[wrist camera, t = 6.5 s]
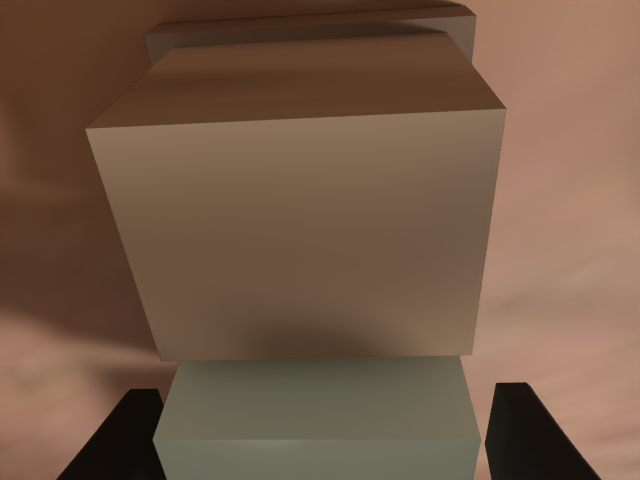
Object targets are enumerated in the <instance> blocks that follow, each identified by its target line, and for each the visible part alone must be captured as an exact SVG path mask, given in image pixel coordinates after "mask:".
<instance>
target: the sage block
mask: <svg viewBox="0 0 640 480" xmlns="http://www.w3.org/2000/svg"><path fill="white" fill-rule="evenodd" d="M153 442H154V445H155V448H156V451H157V453H158V456H159V459H160V462H161V465H162V467H163V470H164V473H165V476H166V478H167V480H473V477H474V472H475V467H476V462H477V457H478V452H479V448H480V443H481V437H480V433H479V429H478V425H477V422H476V418H475V414H474V410H473V406H472V402H471V399H470V395H469V391H468V387H467V383H466V379H465V376H464V372H463V368H462V364H461V360H460V356H459V355H455V356H405V357H355V358H306V359H256V360H206V361H179V364H178V367H177V370H176V373H175V376H174V379H173V382H172V385H171V388H170V391H169V394H168V396H167V399H166V402H165V405H164V408H163V411H162V414H161V417H160V420H159V423H158V426H157V429H156V432H155V434H154V437H153Z"/></svg>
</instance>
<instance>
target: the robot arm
mask: <svg viewBox="0 0 640 480" xmlns="http://www.w3.org/2000/svg"><path fill="white" fill-rule="evenodd" d="M163 408H164V406H163V403H162V400H161V397H160V394H159V391H158V389H130V390H129V391H128V392H127V393H126V394H125V395H124V397H123V398H122V399H121V400H120V402H119V403H118V404H117V405H116V407H115V408H114V409H113V411H112V412H111V413H110V414H109V416H108V417H107V418H106V419H105V421H104V422H103V423H102V424H101V426H100V427H99V428H98V429H97V431H96V432H95V433H94V434H93V436H92V437H91V438H90V439H89V441H88V442H87V443H86V444H85V446H84V447H83V448H82V449H81V451H80V452H79V453H78V454H77V455H76V456H75V458H74V459H73V460H72V461H71V462H70V464H69V465H68V466H67V467H66V468H65V470H64V471H63V472H62V473H61V474H60V476H59V477H58V478H57V479H56V480H167V478H166V476H165V473H164V470H163V467H162V465H161V462H160V459H159V456H158V453H157V451H156V448H155V445H154V442H153V437H154V434H155V432H156V429H157V426H158V423H159V420H160V417H161V414H162V411H163ZM485 447H486V453H487V458H488V463H489V469H490V474H491V479H492V480H601V479H600V477H599V476H598V475H597V474H596V472H595V471H594V470H593V469H592V468H591V466H590V465H589V464H588V463H587V461H586V460H585V459H584V458H583V456H582V455H581V454H580V453H579V451H578V450H577V449H576V448H575V446H574V445H573V444H572V442H571V441H570V440H569V438H568V437H567V436H566V434H565V433H564V432H563V431H562V429H561V428H560V427H559V425H558V424H557V423H556V421H555V420H554V418H553V417H552V416H551V414H550V413H549V412H548V410H547V409H546V408H545V406H544V405H543V403H542V402H541V401H540V399H539V398H538V396H537V395H536V393H535V392H534V391H533V389H532V388H531V386H530V385H528V384H527V383H526V382H522V383H496V387H495V392H494V397H493V403H492V408H491V413H490V419H489V424H488V430H487V435H486V440H485Z"/></svg>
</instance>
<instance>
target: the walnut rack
mask: <svg viewBox="0 0 640 480" xmlns="http://www.w3.org/2000/svg"><path fill="white" fill-rule="evenodd" d="M475 25H476V15H475V14H474V13H473V12H472V11H471V10H470V9H468V8H467V7H466V6H465V5H464V6H447V7H431V8H414V9H397V10H380V11H363V12H346V13H330V14H313V15H296V16H279V17H262V18H245V19H229V20H212V21H195V22H178V23H161V24H158V25H156V26H155V27H154V28H152V29H151V30H150V31H148V32H147V33H145V34H144V35H143V36H144V40H145V44H146V48H147V53H148V57H149V61H150V65H151V68H150V69H149V70H148V71H147V72H146V73H145V74H144V75H143V76H142V77H141V78H140V79H138V80H137V81H136V82H135V83H134V84H133V85H132V86H131V87H130V88H129V89H128V90H127V91H125V92H124V93H123V94H122V95H121V96H120V97H119V98H118V99H117V100H116V101H115V102H114V103H112V104H111V105H110V106H109V107H108V108H107V109H106V110H105V111H104V112H103V113H102V114H101V115H99V116H98V117H97V118H96V119H95V120H94V121H93V122H92V123H91V124H90V125H89V126H88V127H86V128H85V130H86V133H87V136H88V139H89V143H90V146H91V149H92V152H93V155H94V158H95V161H96V164H97V167H98V170H99V173H100V176H101V179H102V182H103V185H104V188H105V192H106V195H107V198H108V201H109V204H110V207H111V210H112V213H113V216H114V219H115V222H116V225H117V228H118V231H119V234H120V237H121V240H122V244H123V247H124V250H125V253H126V256H127V259H128V262H129V265H130V268H131V271H132V274H133V277H134V280H135V283H136V286H137V289H138V293H139V296H140V299H141V302H142V305H143V308H144V311H145V314H146V317H147V320H148V323H149V326H150V329H151V332H152V335H153V338H154V342H155V345H156V348H157V351H158V354H159V357H160V360H161V361H206V360H256V359H306V358H355V357H405V356H455V355H472V349H473V342H474V335H475V328H476V321H477V313H478V306H479V299H480V292H481V285H482V278H483V271H484V264H485V257H486V250H487V243H488V236H489V229H490V222H491V215H492V208H493V200H494V193H495V186H496V179H497V172H498V165H499V158H500V151H501V144H502V137H503V130H504V123H505V116H506V107H505V106H504V105H503V104H502V102H501V101H500V100H499V99H498V97H497V96H496V95H495V93H494V92H493V91H492V90H491V88H490V87H489V86H488V84H487V83H486V82H485V81H484V79H483V78H482V77H481V75H480V74H479V73H478V72H477V70H476V69H475V68H474V67H473V65H472V55H473V45H474V35H475Z"/></svg>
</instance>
